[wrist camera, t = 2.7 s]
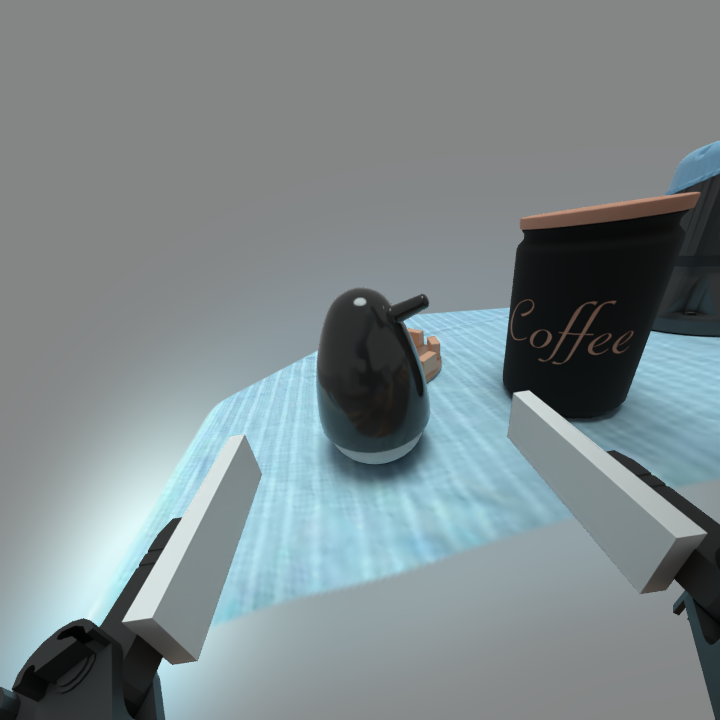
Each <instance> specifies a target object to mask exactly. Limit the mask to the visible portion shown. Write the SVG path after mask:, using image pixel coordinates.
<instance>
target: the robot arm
mask: <svg viewBox="0 0 720 720" xmlns="http://www.w3.org/2000/svg"><path fill="white" fill-rule="evenodd" d="M690 192H700V193H701V195H700V197H699V199H698V201H697V203H696V205H695V207H694V208H691V209H688V210H689V212H687V213H686V214H685V215H684V216H683V217H682V218H681V221H680V224H679V225H680V226H681V227H682V228H683V230H684V231H685V239H684V242H683V245H682V248H681V250H680V253H679V256H678V258H677V261H676V264H675V267H674V269H673V272H672V275H671V277H670V280H669V283H668V286H667V288H666V291H665V294H664V296H663V299H662V302H661V304H660V307H659V310H658V313H657V315H656V318H655V321H654V323H653V326H652V330H658V331H665V332H672V333H681V334H692V335H716V336H720V141H717V142H714V143H711V144H709V145H706V146H704V147H701V148H699V149H697V150H695V151H693V152H692V153H690V154H689V155H687V156H686V157H685V158H684V159H683V160H682V161H681V162H680V163H679V165H678V166H677V168H676V171H675V173H674V176H673V179H672V181H671V184H670V187H669V189H668V192H666V193H665V195H664V196H666V195H674V194H681V193H690ZM507 437H508V438H509V439H510V441H511V442H512V443H513V444H514V445H515V446H516V448H517V449H518V450H519V451H520V452H521V454H522V455H523V456H524V457H525V458H526V459H527V461H528V462H529V463H530V464H531V465H532V467H533V468H534V469H535V470H536V471H537V473H538V474H539V475H540V476H541V477H542V478H543V480H544V481H545V482H546V483H547V484H548V486H549V487H550V488H551V489H552V490H553V492H554V493H555V494H556V495H557V496H558V497H559V499H560V500H561V501H562V502H563V503H564V505H565V506H566V507H567V508H568V509H569V511H570V512H571V513H572V514H573V515H574V516H575V518H576V519H577V520H578V521H579V522H580V523H581V525H582V526H583V527H584V528H585V529H586V531H587V532H588V533H589V534H590V535H591V537H592V538H593V539H594V540H595V541H596V542H597V544H598V545H599V546H600V547H601V548H602V550H603V551H604V552H605V553H606V554H607V556H608V557H609V558H610V559H611V560H612V561H613V563H614V564H615V565H616V566H617V567H618V569H619V570H620V571H621V572H622V573H623V575H624V576H625V577H626V578H627V579H628V580H629V582H630V583H631V584H632V585H633V586H634V587H635V589H636V590H637V591H638V592H639V594H643V593H650V592H657V591H663V590H666V589H667V588H668V587H669V585H670V584H671V583H672V581H673V580H674V579H675V580H676V581H677V582H678V583H679V584H680V585H681V586H682V587H683V588H684V589H685V591H684V592H683V594H682V595H681V596H680V598H679V599H678V600H677V601H676V602H675V604H674V605H673V613H675V614H677V615H680V613H681V612H682V611H683V610H684V609H685V608H686V611H687V614H688V620H689V622H690V626H691V629H692V633H693V637H694V641H695V645H696V648H697V652H698V656H699V660H700V663H701V667H702V671H703V674H704V678H705V682H706V686H707V690H708V694H709V697H710V701H711V705H712V709H713V712H714V716H715V720H720V524H718V523H717V522H716V521H714V520H713V519H712V518H710V517H709V516H707V515H706V514H705V513H704V512H702V511H701V510H700V509H698V508H697V507H696V506H694V505H693V504H692V503H690V502H689V501H688V500H686V499H685V498H684V497H682V496H681V495H679V494H678V493H677V492H676V491H674V490H673V489H672V488H670V487H667V486H666V485H665V483H664V482H662V481H661V480H660V479H658V478H657V477H656V476H652V475H651V473H650V472H649V471H648V470H646V469H645V468H644V467H642V466H641V465H640V464H638V463H637V462H636V461H634V460H633V459H631V458H629V457H627V456H625V455H623V454H621V453H619V452H617V451H615V450H613V451H607V452H605V451H604V450H603V449H602V448H600V447H599V446H598V445H597V444H595V443H594V442H593V441H592V440H590V439H589V438H588V437H587V436H585V435H584V434H583V433H582V432H580V431H579V430H578V429H577V428H575V427H574V426H573V425H572V424H570V423H569V422H568V421H567V420H565V419H564V418H563V417H562V416H560V415H559V414H558V413H557V412H555V411H554V410H553V409H552V408H550V407H549V406H548V405H547V404H545V403H544V402H543V401H542V400H540V399H539V398H538V397H537V396H535V395H534V394H533V393H532V392H530V391H522V392H516V393H513V399H512V406H511V413H510V420H509V427H508V434H507ZM261 476H262V473H261V471H260V468H259V466H258V464H257V461H256V459H255V457H254V454H253V452H252V450H251V447H250V445H249V443H248V441H247V438H246V436H245V434H243V435H237V436H230V437H229V438H228V440H227V441H226V443H225V445H224V446H223V448H222V450H221V452H220V453H219V455H218V457H217V459H216V460H215V462H214V464H213V465H212V467H211V469H210V471H209V472H208V474H207V476H206V478H205V479H204V481H203V483H202V484H201V486H200V488H199V490H198V491H197V493H196V495H195V497H194V498H193V500H192V502H191V503H190V505H189V507H188V509H187V510H186V512H185V514H184V515H183V517H181V518H175V519H172V520H171V521H170V522H169V523H168V524H167V525H166V526H165V527H164V529H163V530H162V531H161V532H160V533H159V534H158V535H157V537H156V539H155V540H154V542H153V543H152V545H151V546H150V548H149V550H148V553H147V554H145V556H144V558H143V559H142V561H141V562H140V564H139V568H137V569H136V570H135V572H134V574H133V575H132V577H131V578H130V580H129V581H128V583H127V585H126V586H125V588H124V589H123V591H122V593H121V594H120V596H119V597H118V599H117V601H116V602H115V604H114V605H113V607H112V609H111V610H110V612H109V613H108V615H107V616H106V618H105V620H104V621H103V623H102V624H101V626H100V627H98V626H97V625H95V624H94V623H93V622H91V621H90V620H87V619H84V618H83V619H80V620H76V621H72V622H71V623H69V624H67V625H66V626H64V627H62V628H61V629H59V630H58V631H56V632H55V633H54V634H53V635H52V636H50V638H48V639H47V640H46V641H45V642H43V643H42V644H41V646H40V647H39V648H38V649H37V650H36V651H35V652H34V653H33V654H32V656H31V657H30V658H29V659H28V660H27V662H26V663H25V665H24V666H23V668H22V669H21V671H20V672H19V674H18V675H17V678H16V680H15V683H14V685H13V687H12V690H13V692H11V691H9V690H7V689H4V688H2V687H0V720H165V714H164V707H163V699H162V692H161V685H160V678H159V676H158V673H157V669H158V667H159V665H160V662H161V660H162V658H165V659H166V660H167V661H168V662H169V663H171V664H172V665H174V664H181V663H187V662H194V661H198V659H199V656H200V653H201V650H202V647H203V644H204V641H205V638H206V636H207V633H208V630H209V627H210V624H211V621H212V618H213V615H214V612H215V609H216V607H217V604H218V601H219V598H220V595H221V592H222V589H223V586H224V583H225V580H226V578H227V575H228V572H229V569H230V566H231V563H232V560H233V557H234V554H235V551H236V548H237V546H238V543H239V540H240V537H241V534H242V531H243V528H244V525H245V522H246V519H247V517H248V514H249V511H250V508H251V505H252V502H253V499H254V496H255V493H256V490H257V488H258V485H259V482H260V479H261Z"/></svg>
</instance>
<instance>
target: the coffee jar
mask: <svg viewBox="0 0 720 720" xmlns="http://www.w3.org/2000/svg"><path fill="white" fill-rule="evenodd" d="M700 195H701V193H700V192H690V193H681V194H674V195H666V196H659V197H652V198H644V199H637V200H630V201H623V202H617V203H610V204H603V205H596V206H590V207H584V208H577V209H570V210H564V211H557V212H551V213H545V214H540V215H534V216H528V217H524V218H521V219H520V229H522V231H523V233H524V240H523V241H522V242H521V243H520V244H519V245H518V248H517V252H516V261H515V269H514V279H513V287H512V296H511V306H510V314H509V323H508V332H507V341H506V350H505V359H504V368H503V382H504V384H505V385H506V387H507V388H508V390H509V391H510V393H511V394H512V396H513V393H516V392H522V391H530V392H532V393H533V394H534V395H535V396H537V397H538V398H539V399H540V400H542V401H543V402H544V403H545V404H547V405H548V406H549V407H550V408H552V409H553V410H554V411H555V412H557V413H558V414H559V415H560V416H562V417H567V418H592V417H596V416H600V415H604V414H605V413H607V412H609V411H612V410H614V409H615V408H616V407H617V406H619V405H620V404H621V403H623V402H624V401H625V399H626V397H627V394H628V391H629V388H630V386H631V383H632V380H633V378H634V375H635V372H636V369H637V367H638V364H639V361H640V359H641V356H642V353H643V351H644V348H645V345H646V342H647V340H648V337H649V334H650V332H651V329H652V326H653V323H654V321H655V318H656V315H657V313H658V310H659V307H660V304H661V302H662V299H663V296H664V294H665V291H666V288H667V286H668V283H669V280H670V277H671V275H672V272H673V269H674V267H675V264H676V261H677V258H678V256H679V253H680V250H681V248H682V245H683V242H684V239H685V231H684V230H683V228H682V227H681V226H680V225H679V224H680V221H681V218H682V217H683V216H684V215H685V214H686V213H687V212H689V210H688V209H691V208H694V207H695V205H696V203H697V201H698V199H699V197H700Z"/></svg>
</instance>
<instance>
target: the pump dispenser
mask: <svg viewBox="0 0 720 720" xmlns="http://www.w3.org/2000/svg"><path fill="white" fill-rule="evenodd" d="M428 306H429V300H428V298H427V296H426V295H425V294H421V295H418V296H415V297H413V298H410V299H408V300H405V301H403V302H400V303H398V304H395V305H392V304H391V303H390V302H389V301H388V300H387V298H386V297H385V296H384V295H382V294H381V293H379V292H378V291H375V290H373V289H370V288H354V289H350V290H347V291H345V292H344V293H342V294H340V295H339V296H338V297H337V298H336V299H335V300H334V301H333V302H332V304H331V305H330V307H329V309H328V312H327V314H326V317H325V320H324V323H323V327H322V331H321V336H320V342H319V349H318V357H317V370H316V387H317V401H318V410H319V417H320V421H321V425H322V428H323V431H324V433H325V435H326V436H327V437H328V438H329V439H330V440H331V441H332V442H333V443H334V444H335V446H336V447H337V448H338V449H339V450H340V451H341V452H342V453H343V454H345V455H346V456H348V457H349V458H351V459H353V460H356V461H358V462H362V463H366V464H383V463H388V462H392V461H394V460H397V459H399V458H401V457H402V456H404V455H405V454H407V453H408V452H409V451H410V450H411V449H412V448H413V447H414V446H415V445H416V444H417V442H418V441H419V439H420V437H421V435H422V433H423V430H424V429H425V427H426V425H427V423H428V421H429V417H430V402H429V394H428V389H427V384H426V379H425V375H424V371H423V367H422V364H421V361H420V358H419V355H418V352H417V349H416V347H415V344H414V342H413V340H412V338H411V335H410V333H409V331H408V329H407V327H406V326H405V324H404V322H403V321H404V320H406V319H408V318H410V317H411V316H413V315H415V314H417V313H419V312H420V311H422V310H424V309H426V308H428Z"/></svg>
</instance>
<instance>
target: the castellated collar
mask: <svg viewBox="0 0 720 720" xmlns="http://www.w3.org/2000/svg"><path fill="white" fill-rule="evenodd" d="M408 331H409V333H410V335H411V338H412V340H413V342H414V344H415V347H416V349H417V352H418V355H419V358H420V361H421V364H422V367H423V371H424V375H425V379H426V384H427V383H429V382H430V381H431V380H433V379H434V378H435V377H436V376H437V375H438V374H439V372H440V370H441V357H440V343H439V341H438V340H437V338H436V337H435V336H432V337H427V345H425V344H424V335H423V331H421V330H416V329H410V328H408Z"/></svg>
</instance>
